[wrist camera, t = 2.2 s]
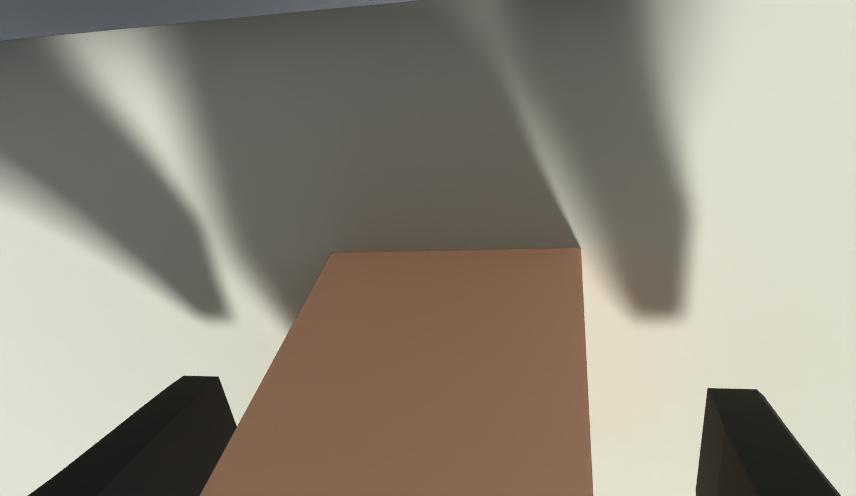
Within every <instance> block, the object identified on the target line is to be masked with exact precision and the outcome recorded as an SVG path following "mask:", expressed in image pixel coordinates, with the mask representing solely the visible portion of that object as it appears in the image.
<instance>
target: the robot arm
mask: <svg viewBox="0 0 856 496" xmlns="http://www.w3.org/2000/svg"><path fill="white" fill-rule="evenodd" d="M236 428H237V426H236V423H235V421H234V418H233V415H232V412H231V410H230V407H229V404H228V401H227V399H226V396H225V393H224V390H223V388H222V385H221V382H220V379H219V377H211V376H183V377H181V378H180V379H178V380H177V381H176V382H174V383H173V384H171V385H170V386H169V387H167V388H166V389H165V390H163V391H162V392H161V393H159V394H158V395H157V396H155V397H154V398H153V399H152V400H150V401H149V402H148V403H147V404H145V405H144V406H143V407H141V408H140V409H139V410H138V411H136V412H135V413H134V414H133V415H131V416H130V417H129V418H128V419H126V420H125V421H124V422H123V423H121V424H120V425H119V426H118V427H116V428H115V429H114V430H113V431H111V432H110V433H109V434H107V435H106V436H105V437H104V438H102V439H101V440H100V441H99V442H97V443H96V444H95V445H93V446H92V447H91V448H90V449H88V450H87V451H86V452H85V453H83V454H82V455H81V456H80V457H78V458H77V459H76V460H74V461H73V462H72V463H71V464H69V465H68V466H67V467H66V468H64V469H63V470H62V471H60V472H59V473H58V474H57V475H55V476H54V477H53V478H51V479H50V480H49V481H47V482H46V483H44V484H43V485H42V486H40V487H39V488H38V489H36V490H35V491H34V492H32V493H31V494H30V495H28V496H200V494H201V492H202V491H203V489H204V487H205V485H206V483H207V481H208V480H209V478H210V476H211V474H212V472H213V470H214V469H215V467H216V465H217V463H218V461H219V459H220V457H221V456H222V454H223V452H224V450H225V448H226V446H227V445H228V443H229V441H230V439H231V437H232V435H233V434H234V432H235V430H236ZM696 496H841V495H840V494H839V493H838V491H837V490H836V489H835V488H834V487H833V485H832V484H831V483H830V482H829V480H828V479H827V478H826V477H825V476H824V474H823V473H822V472H821V470H820V469H819V468H818V467H817V465H816V464H815V463H814V462H813V460H812V459H811V458H810V457H809V455H808V454H807V453H806V452H805V450H804V449H803V448H802V446H801V445H800V444H799V442H798V441H797V440H796V439H795V437H794V436H793V435H792V433H791V432H790V431H789V429H788V428H787V427H786V425H785V424H784V423H783V421H782V420H781V419H780V417H779V416H778V415H777V413H776V412H775V411H774V409H773V408H772V406H771V405H770V404H769V402H768V401H767V400H766V398H765V397H764V396H763V395H762V394H761V393H760V392H759V391H758V390H757V389H718V388H708V390H707V398H706V407H705V415H704V424H703V433H702V441H701V450H700V458H699V467H698V475H697V484H696Z"/></svg>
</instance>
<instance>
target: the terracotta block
mask: <svg viewBox="0 0 856 496" xmlns="http://www.w3.org/2000/svg"><path fill="white" fill-rule="evenodd" d="M200 496H593V481H592V461H591V441H590V421H589V401H588V381H587V361H586V341H585V321H584V301H583V281H582V261H581V248H540V249H489V250H438V251H388V252H337V253H331V255H330V257H329V258H328V260H327V262H326V264H325V266H324V268H323V270H322V271H321V273H320V275H319V277H318V279H317V281H316V282H315V284H314V286H313V288H312V290H311V292H310V293H309V295H308V297H307V299H306V301H305V303H304V305H303V306H302V308H301V310H300V312H299V314H298V316H297V317H296V319H295V321H294V323H293V325H292V327H291V328H290V330H289V332H288V334H287V336H286V338H285V340H284V341H283V343H282V345H281V347H280V349H279V351H278V352H277V354H276V356H275V358H274V360H273V362H272V364H271V365H270V367H269V369H268V371H267V373H266V375H265V376H264V378H263V380H262V382H261V384H260V386H259V387H258V389H257V391H256V393H255V395H254V397H253V399H252V400H251V402H250V404H249V406H248V408H247V410H246V411H245V413H244V415H243V417H242V419H241V421H240V422H239V424H238V426H237V428H236V430H235V432H234V434H233V435H232V437H231V439H230V441H229V443H228V445H227V446H226V448H225V450H224V452H223V454H222V456H221V457H220V459H219V461H218V463H217V465H216V467H215V469H214V470H213V472H212V474H211V476H210V478H209V480H208V481H207V483H206V485H205V487H204V489H203V491H202V492H201V494H200Z"/></svg>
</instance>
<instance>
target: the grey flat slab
mask: <svg viewBox="0 0 856 496" xmlns="http://www.w3.org/2000/svg"><path fill="white" fill-rule="evenodd" d="M408 1H419V0H0V41H2V40H12V39H22V38H33V37H43V36H54V35H64V34H75V33H85V32H95V31H106V30H116V29H127V28H137V27H148V26H158V25H168V24H179V23H189V22H200V21H210V20H221V19H231V18H241V17H252V16H262V15H273V14H283V13H293V12H304V11H314V10H325V9H335V8H346V7H356V6H366V5H377V4H387V3H398V2H408Z"/></svg>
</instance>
